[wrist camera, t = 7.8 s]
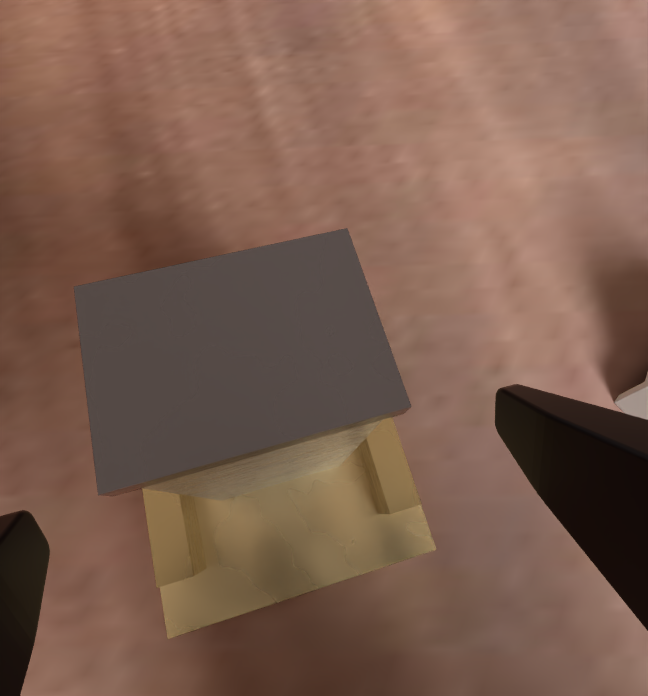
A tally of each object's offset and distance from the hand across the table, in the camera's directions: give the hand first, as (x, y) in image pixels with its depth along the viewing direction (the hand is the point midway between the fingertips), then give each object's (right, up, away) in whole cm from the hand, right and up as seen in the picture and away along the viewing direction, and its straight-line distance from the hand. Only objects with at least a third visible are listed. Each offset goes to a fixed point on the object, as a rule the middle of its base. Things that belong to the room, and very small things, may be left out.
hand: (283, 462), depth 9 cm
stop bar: (-1, -2, +10) cm, 11 cm away
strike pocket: (-2, -2, +11) cm, 11 cm away
